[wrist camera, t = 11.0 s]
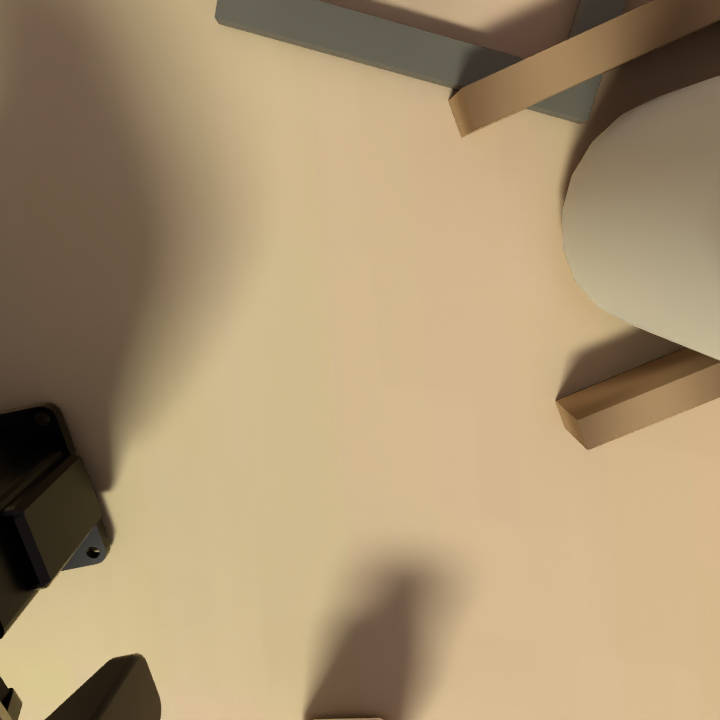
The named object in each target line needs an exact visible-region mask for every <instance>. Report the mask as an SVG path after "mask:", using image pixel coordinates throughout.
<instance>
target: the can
mask: <svg viewBox="0 0 720 720" xmlns="http://www.w3.org/2000/svg"><path fill="white" fill-rule="evenodd" d="M562 234H563V250H564V253H565V256H566V259H567V261H568V264H569V267H570V269H571V272H572V275H573V277H574V280H575V282H576V283H577V284H578V285H579V287H580V288H581V289H582V290H583V291H584V293H585V294H586V295H587V296H588V297H589V299H590V300H591V301H592V302H593V303H594V305H595V306H597V307H598V308H600V309H602V310H604V311H605V312H607V313H609V314H611V315H612V316H614V317H616V318H618V319H619V320H621V321H623V322H625V323H627V324H630V325H632V326H635V327H637V328H640V329H642V330H645V331H647V332H650V333H652V334H655V335H657V336H660V337H662V338H665V339H667V340H670V341H672V342H675V343H677V344H680V345H682V346H685V347H687V348H690V349H692V350H695V351H697V352H700V353H702V354H705V355H707V356H710V357H712V358H715V359H717V360H720V75H719V76H716V77H713V78H710V79H708V80H705V81H702V82H699V83H696V84H693V85H690V86H687V87H684V88H681V89H678V90H676V91H673V92H670V93H667V94H664V95H661V96H658V97H656V98H654V99H652V100H650V101H648V102H646V103H643V104H641V105H639V106H637V107H635V108H633V109H631V110H629V111H627V112H625V113H623V114H621V115H620V116H619V117H618V118H617V119H616V120H615V121H614V122H613V123H612V124H611V125H610V126H608V127H607V128H606V129H605V130H604V131H603V132H602V133H601V134H600V135H599V136H598V137H597V138H596V139H595V140H593V141H592V143H591V145H590V146H589V148H588V150H587V151H586V153H585V155H584V156H583V158H582V159H581V161H580V163H579V164H578V166H577V168H576V169H575V171H574V173H573V174H572V176H571V180H570V184H569V188H568V191H567V195H566V199H565V203H564V206H563V210H562Z"/></svg>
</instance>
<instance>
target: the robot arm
mask: <svg viewBox="0 0 720 720" xmlns="http://www.w3.org/2000/svg"><path fill="white" fill-rule="evenodd" d="M41 413H45V414H47V415H48V416H49V418H50V422H46V421H44V420H43V419H42V417H41ZM101 516H102V512H101V509H100V506H99V503H98V501H97V498H96V495H95V493H94V490H93V487H92V484H91V482H90V479H89V476H88V473H87V471H86V468H85V465H84V462H83V460H82V458H81V457H80V456H79V455H78V454H77V453H76V450H75V448H74V445H73V442H72V440H71V437H70V434H69V431H68V429H67V426H66V423H65V420H64V418H63V415H62V412H61V411H60V409H59V408H58V407H57V406H56V405H54V404H52V403H39V404H34V405H29V406H24V407H20V408H15V409H10V410H5V411H0V639H1V638H3V636H4V635H5V634H6V632H7V631H8V630H9V629H10V627H11V626H12V625H13V623H14V622H15V621H16V620H17V618H18V617H19V616H20V615H21V613H22V612H23V611H24V609H25V608H26V607H27V606H28V604H29V603H30V602H31V600H32V599H33V598H34V597H35V595H36V594H37V593H38V591H39V590H40V589H44V588H47V587H48V586H49V585H50V584H51V583H52V581H53V580H54V579H55V578H56V576H57V575H58V574H59V572H60V571H64V570H69V569H74V568H79V567H84V566H89V565H94V564H98V563H100V562H102V561H103V560H104V559H105V558H106V556H107V555H108V553H109V551H110V543H109V540H108V538H107V535H106V532H105V529H104V527H103V524H102V521H101V519H100V518H101ZM91 547H95V548H97V549H98V550H99V551H100V552H95V551H93V550H92V549H91ZM21 707H22V701H21V700H20V698H19V696H18V695H17V693H16V692H15V690H14V689H13V688H7V686H6V685H5V683H4V681H3V680H2V678H1V677H0V720H18V718H19V714H20V710H21ZM160 718H161V702H160V697H159V694H158V691H157V689H156V686H155V683H154V680H153V678H152V675H151V672H150V670H149V667H148V664H147V662H146V660H145V658H144V657H143V656H142V655H141V654H138V653H136V654H130V655H125V656H120V657H116V658H113V659H111V660H109V661H108V662H107V663H106V664H105V665H103V666H102V667H101V668H100V669H99V670H98V671H97V672H96V673H95V674H94V675H93V676H92V677H91V678H89V679H88V680H87V681H86V682H85V683H84V684H83V685H82V686H81V687H80V688H79V689H78V690H76V691H75V692H74V693H73V694H72V695H71V696H70V697H69V698H68V699H67V700H66V701H65V702H64V703H62V704H61V705H60V706H59V707H58V708H57V709H56V710H55V711H54V712H53V713H52V714H51V715H49V716H48V717H47V718H46V719H45V720H160Z"/></svg>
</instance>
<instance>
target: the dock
mask: <svg viewBox="0 0 720 720" xmlns="http://www.w3.org/2000/svg"><path fill="white" fill-rule="evenodd" d="M718 21H720V0H653V1H651V2H649V3H646V4H644V5H642V6H640V7H638V8H636V9H633V10H631V11H629V12H627V13H625V14H622V15H620V16H618V17H616V18H614V19H612V20H609V21H607V22H605V23H603V24H601V25H598V26H596V27H594V28H592V29H590V30H588V31H585V32H583V33H581V34H579V35H577V36H574V37H572V38H570V39H568V40H566V41H564V42H561V43H559V44H557V45H555V46H553V47H550V48H548V49H546V50H544V51H542V52H540V53H537V54H535V55H533V56H531V57H529V58H526V59H524V60H522V61H520V62H518V63H516V64H513V65H511V66H509V67H507V68H505V69H502V70H500V71H498V72H496V73H494V74H492V75H489V76H487V77H485V78H483V79H481V80H478V81H476V82H474V83H472V84H470V85H468V86H465V87H463V88H461V89H460V90H459V91H458V92H457V93H456V94H455V95H454V96H453V97H452V98H451V99H450V100H449V104H450V106H451V109H452V112H453V115H454V118H455V120H456V123H457V126H458V129H459V132H460V134H461V137H464V136H466V135H468V134H470V133H472V132H475V131H477V130H479V129H481V128H484V127H486V126H488V125H490V124H492V123H495V122H497V121H499V120H501V119H503V118H506V117H508V116H510V115H512V114H515V113H517V112H519V111H521V110H523V109H526V108H528V107H529V106H531V105H533V104H536V103H538V102H540V101H542V100H545V99H547V98H549V97H551V96H553V95H556V94H558V93H560V92H562V91H564V90H567V89H569V88H571V87H573V86H576V85H578V84H580V83H582V82H584V81H587V80H589V79H591V78H593V77H595V76H598V75H600V74H602V73H605V72H608V71H610V70H612V69H614V68H616V67H619V66H621V65H623V64H625V63H628V62H630V61H632V60H634V59H636V58H639V57H641V56H643V55H645V54H647V53H650V52H652V51H654V50H656V49H659V48H661V47H663V46H665V45H667V44H670V43H672V42H674V41H676V40H678V39H681V38H683V37H685V36H687V35H690V34H692V33H694V32H696V31H698V30H701V29H703V28H705V27H707V26H709V25H712V24H714V23H716V22H718ZM719 397H720V360H717V359H715V358H712V357H710V356H707V355H705V354H702V353H700V352H697V351H695V350H692V349H690V348H687V347H686V348H683V349H681V350H678V351H676V352H673V353H671V354H668V355H666V356H664V357H661V358H659V359H656V360H654V361H651V362H649V363H646V364H644V365H642V366H639V367H637V368H634V369H632V370H629V371H627V372H625V373H622V374H620V375H617V376H615V377H612V378H610V379H607V380H605V381H603V382H600V383H598V384H595V385H593V386H590V387H588V388H585V389H583V390H581V391H578V392H576V393H573V394H571V395H568V396H566V397H564V398H561V399H559V400H556V404H557V406H558V409H559V412H560V415H561V418H562V420H563V423H564V426H565V428H566V429H567V430H568V431H569V432H570V433H571V434H572V435H573V436H574V437H575V438H576V439H577V440H578V441H579V442H580V443H581V444H582V445H583V446H584V447H585V448H586V449H587V450H589V449H592V448H594V447H597V446H599V445H602V444H604V443H607V442H609V441H612V440H614V439H617V438H619V437H622V436H624V435H627V434H629V433H632V432H634V431H637V430H639V429H642V428H644V427H647V426H649V425H652V424H654V423H657V422H659V421H662V420H664V419H667V418H669V417H672V416H674V415H677V414H679V413H682V412H684V411H687V410H689V409H692V408H694V407H697V406H699V405H702V404H704V403H707V402H709V401H712V400H714V399H717V398H719Z"/></svg>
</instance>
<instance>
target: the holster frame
mask: <svg viewBox="0 0 720 720" xmlns="http://www.w3.org/2000/svg"><path fill="white" fill-rule="evenodd" d="M625 3H626V0H580V1H579V5H578V8H577V11H576V15H575V18H574V21H573V24H572V28H571V31H570V34H569V38H568V39H570V38H572V37H574V36H577V35H579V34H581V33H583V32H585V31H588V30H590V29H592V28H594V27H596V26H598V25H601V24H603V23H605V22H607V21H609V20H612V19H614V18H616V17H618V16H620V15H622V12H623V9H624V6H625ZM215 19H216V20H217V22H218V23H219V24H222V25H225V26H229V27H232V28H236V29H240V30H243V31H247V32H251V33H254V34H258V35H261V36H265V37H269V38H272V39H276V40H279V41H283V42H287V43H290V44H294V45H298V46H301V47H305V48H308V49H312V50H316V51H319V52H323V53H326V54H330V55H334V56H337V57H341V58H345V59H348V60H352V61H355V62H359V63H363V64H366V65H370V66H373V67H377V68H381V69H384V70H388V71H392V72H395V73H399V74H402V75H406V76H410V77H413V78H417V79H420V80H424V81H428V82H431V83H435V84H439V85H442V86H446V87H449V88H453V89H457V90H460V89H461V88H463V87H465V86H468V85H470V84H472V83H474V82H476V81H478V80H481V79H483V78H485V77H487V76H489V75H492V74H494V73H496V72H498V71H500V70H502V69H505V68H507V67H509V66H511V65H513V64H516V63H518V62H520V61H522V60H524V59H522V58H519V57H515V56H512V55H508V54H505V53H501V52H498V51H494V50H491V49H487V48H484V47H480V46H477V45H473V44H470V43H466V42H463V41H459V40H456V39H452V38H449V37H445V36H442V35H438V34H435V33H431V32H428V31H424V30H421V29H417V28H414V27H410V26H407V25H403V24H400V23H396V22H393V21H389V20H386V19H382V18H379V17H375V16H372V15H368V14H365V13H361V12H358V11H354V10H351V9H347V8H344V7H340V6H337V5H333V4H330V3H326V2H323V1H319V0H217V6H216V13H215ZM602 74H603V73H602ZM602 74H600V75H598V76H595V77H593V78H591V79H589V80H587V81H584V82H582V83H580V84H578V85H576V86H573V87H571V88H569V89H567V90H564V91H562V92H560V93H558V94H556V95H553V96H551V97H549V98H547V99H545V100H542V101H540V102H538V103H536V104H533V105H531V106H529V107H528V108H526V109H529V110H533V111H536V112H540V113H543V114H547V115H551V116H554V117H558V118H561V119H565V120H569V121H572V122H576V123H583V122H586V121H588V118H589V115H590V112H591V109H592V105H593V102H594V99H595V96H596V93H597V90H598V87H599V84H600V81H601V77H602Z"/></svg>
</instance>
